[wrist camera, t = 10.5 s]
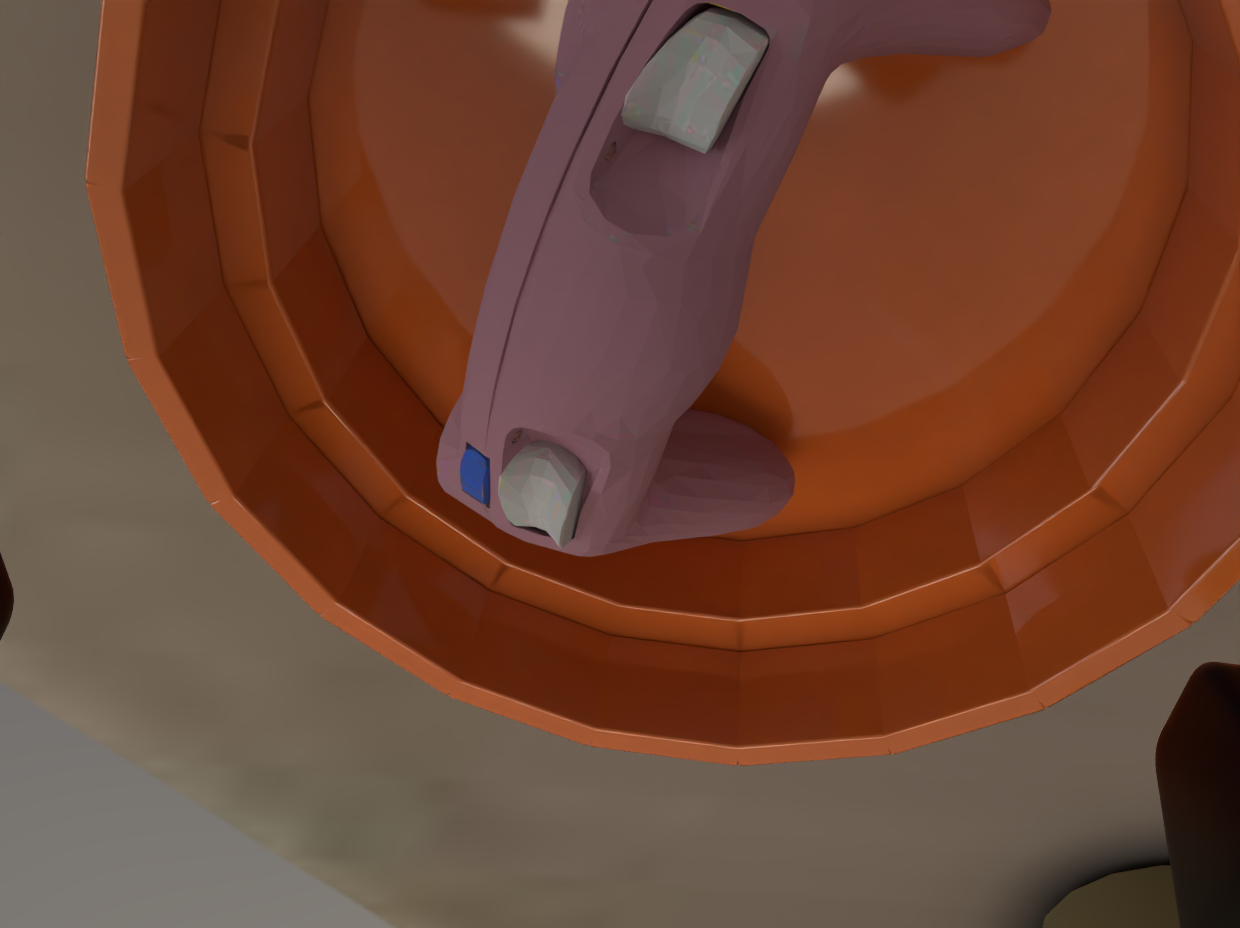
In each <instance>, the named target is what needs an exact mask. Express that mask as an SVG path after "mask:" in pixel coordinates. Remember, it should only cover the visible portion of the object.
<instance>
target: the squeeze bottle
mask: <svg viewBox="0 0 1240 928" xmlns="http://www.w3.org/2000/svg"><path fill="white" fill-rule="evenodd" d="M1042 928H1180V925H1179V919H1178V912H1177V905H1176V899H1175V892H1174V886H1173V879H1172V872H1171V866H1168V865H1161V866H1155V867H1149V868H1143V869H1137V870H1131V871H1125V872H1119V873H1113V874H1110V875H1108V876H1106V877H1103V878H1101V879H1099V880H1097V881H1094V882H1092V883H1090V884H1087V885H1085V886H1083V887H1081V888H1078V889H1076V890H1074V891H1072V892H1070V893H1069V894H1068V895H1067V896H1066V897H1065V898H1064V899H1063V900H1062V901H1061V902H1060V903H1058V904H1057V905H1056V906H1055V907H1054V908H1053V909H1052V910H1051V911H1050V912H1049V913H1048V914H1047V915H1046V916H1045V919H1044V923H1043V927H1042Z"/></svg>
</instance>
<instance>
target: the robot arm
mask: <svg viewBox="0 0 1240 928" xmlns="http://www.w3.org/2000/svg"><path fill="white" fill-rule="evenodd" d="M13 604H14V595H13V588H12V584H11V581H10V579H9V576H8V573H7V570H6V567H5V564H4V561H3V559H2V556H1V553H0V640H1V638H2V636H3V634H4V632H5V630H6V628H7V626H8V623H9V621H10V618H11V615H12V611H13ZM1156 773H1157V780H1158V787H1159V793H1160V800H1161V806H1162V813H1163V820H1164V826H1165V833H1166V839H1167V846H1168V853H1169V859H1170V866H1171V872H1172V879H1173V886H1174V892H1175V899H1176V905H1177V912H1178V919H1179V925H1180V928H1240V665H1236V664H1228V663H1220V662H1209V663H1204V664H1202V665H1201V666H1199V667H1198V668H1197V669H1196V670H1195V671H1194V672H1193V674H1192V675H1191V677H1190V679H1189V681H1188V683H1187V684H1186V686H1185V688H1184V690H1183V692H1182V694H1181V696H1180V698H1179V700H1178V701H1177V703H1176V705H1175V707H1174V709H1173V711H1172V713H1171V715H1170V717H1169V718H1168V720H1167V722H1166V724H1165V726H1164V728H1163V730H1162V732H1161V734H1160V737H1159V739H1158V743H1157V748H1156Z"/></svg>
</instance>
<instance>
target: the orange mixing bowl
mask: <svg viewBox="0 0 1240 928" xmlns="http://www.w3.org/2000/svg"><path fill="white" fill-rule="evenodd" d="M568 1H569V0H102V4H101V14H100V25H99V35H98V45H97V55H96V66H95V76H94V86H93V96H92V107H91V117H90V127H89V138H88V148H87V158H86V168H85V180H87V181H86V189H87V194H88V198H89V202H90V207H91V211H92V215H93V220H94V224H95V228H96V233H97V237H98V241H99V245H100V250H101V254H102V258H103V263H104V267H105V271H106V276H107V280H108V284H109V289H110V293H111V297H112V302H113V306H114V310H115V314H116V319H117V323H118V327H119V332H120V336H121V340H122V345H123V349H124V353H125V356H126V357H127V362H128V364H129V366H130V368H131V369H132V371H133V373H134V375H135V376H136V378H137V380H138V382H139V383H140V385H141V387H142V389H143V390H144V392H145V394H146V396H147V397H148V399H149V401H150V403H151V404H152V406H153V408H154V410H155V411H156V413H157V415H158V417H159V418H160V420H161V422H162V424H163V425H164V427H165V429H166V431H167V432H168V434H169V436H170V438H171V439H172V441H173V443H174V445H175V446H176V448H177V450H178V452H179V453H180V455H181V457H182V459H183V460H184V462H185V464H186V466H187V467H188V469H189V471H190V473H191V474H192V476H193V478H194V480H195V481H196V483H197V485H198V487H199V488H200V490H201V492H202V494H203V495H204V497H205V499H206V501H207V502H209V503H210V505H211V506H212V507H213V509H214V510H215V511H216V512H217V513H218V514H219V515H220V516H221V517H222V518H223V519H224V520H225V521H226V522H227V523H228V524H229V525H230V526H231V527H232V528H233V529H234V530H235V531H236V532H237V533H238V534H239V535H240V536H241V537H242V538H243V539H244V540H245V541H246V542H247V543H248V544H249V545H250V546H251V547H252V548H253V549H254V550H255V551H256V552H257V553H258V554H259V555H260V556H261V557H262V558H263V559H264V560H265V561H266V562H267V563H268V564H269V565H270V566H271V567H272V568H273V569H274V570H275V571H276V572H277V573H278V574H279V576H280V577H281V578H282V579H283V580H284V581H285V582H286V583H287V584H288V585H289V586H290V587H291V588H292V589H293V590H294V591H295V592H296V593H297V594H298V595H299V596H300V597H301V598H302V599H303V600H304V601H305V602H306V603H307V604H308V605H309V606H310V607H311V608H312V609H313V610H314V611H315V612H316V613H317V614H321V617H322V618H323V619H325V620H326V621H328V622H330V623H331V624H333V625H334V626H336V627H338V628H339V629H341V630H342V631H344V632H346V633H347V634H349V635H350V636H352V637H354V638H355V639H357V640H358V641H360V642H362V643H363V644H365V645H366V646H368V647H370V648H371V649H373V650H374V651H376V652H378V653H379V654H381V655H382V656H384V657H386V658H387V659H389V660H390V661H392V662H394V663H395V664H397V665H398V666H400V667H402V668H403V669H405V670H407V671H408V672H410V673H411V674H413V675H415V676H416V677H418V678H419V679H421V680H423V681H424V682H426V683H427V684H429V685H431V686H432V687H434V688H435V689H437V690H439V691H440V692H442V693H443V694H445V695H449V696H450V697H451V698H454V699H456V700H459V701H462V702H465V703H468V704H470V705H473V706H476V707H479V708H482V709H485V710H487V711H490V712H493V713H496V714H499V715H502V716H504V717H507V718H510V719H513V720H516V721H518V722H521V723H524V724H527V725H530V726H533V727H535V728H538V729H541V730H544V731H547V732H549V733H552V734H555V735H558V736H561V737H564V738H566V739H569V740H572V741H575V742H578V743H580V744H583V745H586V746H588V745H591V746H592V747H598V748H605V749H613V750H620V751H628V752H635V753H643V754H650V755H658V756H665V757H673V758H680V759H688V760H696V761H703V762H711V763H718V764H726V765H733V766H736V765H738V764H739V765H740V766H748V765H761V764H774V763H788V762H801V761H814V760H827V759H841V758H854V757H867V756H880V755H889V754H891V753H892V754H897V753H900V752H904V751H907V750H910V749H914V748H917V747H921V746H924V745H927V744H931V743H934V742H937V741H941V740H944V739H947V738H951V737H954V736H957V735H961V734H964V733H968V732H971V731H974V730H978V729H981V728H984V727H988V726H991V725H994V724H998V723H1001V722H1005V721H1008V720H1011V719H1015V718H1018V717H1021V716H1025V715H1028V714H1031V713H1035V712H1038V711H1042V710H1044V709H1045V707H1050V706H1052V705H1054V704H1055V703H1057V702H1059V701H1061V700H1062V699H1064V698H1066V697H1068V696H1069V695H1071V694H1073V693H1075V692H1076V691H1078V690H1080V689H1082V688H1083V687H1085V686H1087V685H1089V684H1090V683H1092V682H1094V681H1096V680H1097V679H1099V678H1101V677H1103V676H1104V675H1106V674H1108V673H1110V672H1111V671H1113V670H1115V669H1117V668H1118V667H1120V666H1122V665H1124V664H1125V663H1127V662H1129V661H1131V660H1132V659H1134V658H1136V657H1138V656H1139V655H1141V654H1143V653H1145V652H1146V651H1148V650H1150V649H1152V648H1153V647H1155V646H1157V645H1159V644H1160V643H1162V642H1164V641H1166V640H1167V639H1169V638H1171V637H1173V636H1174V635H1176V634H1178V633H1180V632H1181V631H1183V630H1185V629H1187V628H1188V627H1190V626H1191V625H1192V623H1195V622H1197V621H1198V620H1199V619H1200V618H1201V617H1202V616H1203V615H1204V614H1205V613H1206V612H1207V611H1208V610H1209V609H1210V608H1211V607H1212V606H1213V605H1214V604H1215V603H1216V602H1217V601H1218V600H1219V599H1221V598H1222V597H1223V596H1224V595H1225V594H1226V593H1227V592H1228V591H1229V590H1230V589H1231V588H1232V587H1233V586H1234V585H1235V584H1236V583H1237V582H1238V581H1239V580H1240V0H1049V2H1050V7H1051V14H1050V17H1049V20H1048V23H1047V25H1046V27H1045V30H1044V32H1043V33H1042V34H1041V35H1040V36H1038V37H1037V38H1036V39H1034V40H1033V41H1031V42H1028V43H1026V44H1024V45H1021V46H1019V47H1016V48H1013V49H1010V50H1007V51H1004V52H1001V53H998V54H995V55H992V56H988V57H964V56H943V55H922V54H896V55H886V56H875V57H865V58H861V59H858V60H854V61H851V62H847V63H844V64H841V65H840V66H839V67H838V68H837V69H835V70H834V71H833V72H832V73H831V74H830V76H829V77H828V79H827V81H826V82H825V84H824V87H823V89H822V91H821V94H820V96H819V98H818V101H817V103H816V105H815V108H814V110H813V112H812V114H811V117H810V119H809V121H808V124H807V126H806V128H805V131H804V133H803V135H802V138H801V140H800V142H799V145H798V147H797V149H796V151H795V154H794V156H793V158H792V160H791V163H790V165H789V167H788V169H787V171H786V173H785V175H784V177H783V179H782V181H781V183H780V185H779V188H778V190H777V192H776V194H775V196H774V198H773V200H772V202H771V204H770V206H769V208H768V210H767V212H766V215H765V217H764V219H763V221H762V223H761V225H760V227H759V229H758V231H757V233H756V235H755V238H754V244H753V250H752V256H751V262H750V267H749V273H748V279H747V284H746V289H745V294H744V300H743V305H742V310H741V315H740V320H739V325H738V330H737V332H736V334H735V337H734V339H733V341H732V343H731V345H730V347H729V349H728V351H727V354H726V356H725V358H724V360H723V362H722V364H721V366H720V368H719V370H718V372H717V373H716V374H715V376H714V377H713V378H712V380H711V381H710V382H709V384H708V385H707V386H706V388H705V389H704V390H703V392H702V393H701V394H700V395H699V397H698V398H697V399H696V400H695V402H694V403H693V404H692V405H691V406H690V407H689V409H694V410H699V411H704V412H709V413H714V414H718V415H721V416H724V417H726V418H729V419H731V420H734V421H737V422H739V423H742V424H744V425H747V426H749V427H750V428H752V429H753V430H755V431H756V432H758V433H759V434H761V435H762V436H763V437H765V438H766V439H770V440H771V441H772V442H773V443H774V444H775V445H776V446H777V447H778V448H779V449H780V450H781V452H782V453H783V454H784V455H785V457H786V458H787V460H788V461H789V463H790V465H791V466H792V468H793V470H794V474H795V486H794V493H793V496H792V497H791V499H790V500H789V502H788V503H787V504H786V506H785V507H784V508H783V509H782V510H781V511H780V512H779V513H778V514H777V515H775V516H773V517H772V518H770V519H769V520H767V521H766V522H764V523H762V524H761V525H759V526H756V527H754V528H751V529H746V530H741V531H736V532H731V533H726V534H721V535H714V536H705V537H696V538H687V539H678V540H668V541H659V542H652V543H648V544H644V545H640V546H636V547H633V548H629V549H625V550H621V551H617V552H613V553H610V554H604V555H598V556H592V557H586V556H576V555H572V554H568V553H565V552H561V551H557V550H554V549H550V548H547V547H543V546H540V545H536V544H532V543H529V542H525V541H523V540H521V539H519V538H517V537H515V536H513V535H510V534H508V533H506V532H505V531H503V530H501V529H499V528H497V527H496V526H495V525H494V523H492V522H491V521H489V520H488V519H486V518H485V517H483V516H481V515H480V514H478V513H477V512H475V511H474V510H472V509H471V508H469V507H468V506H466V505H465V504H463V503H462V502H460V501H459V500H457V499H456V498H454V497H453V496H451V495H450V494H448V493H446V492H445V491H444V489H443V488H442V486H441V485H440V483H439V482H438V476H437V465H436V459H437V454H438V448H439V442H440V437H441V435H442V432H443V430H444V428H445V425H446V423H447V420H448V418H449V415H450V413H451V411H452V410H453V408H454V406H455V404H456V403H457V401H458V399H459V397H460V396H461V394H462V392H463V388H464V382H465V376H466V370H467V364H468V358H469V353H470V349H471V344H472V340H473V336H474V332H475V327H476V323H477V319H478V315H479V311H480V306H481V302H482V298H483V294H484V289H485V285H486V282H487V279H488V276H489V273H490V270H491V267H492V264H493V260H494V257H495V254H496V251H497V248H498V245H499V242H500V239H501V235H502V232H503V229H504V226H505V223H506V220H507V217H508V214H509V211H510V207H511V204H512V201H513V198H514V195H515V192H516V189H517V187H518V185H519V182H520V180H521V177H522V175H523V173H524V170H525V168H526V165H527V163H528V161H529V158H530V156H531V153H532V151H533V149H534V146H535V144H536V141H537V139H538V136H539V134H540V132H541V129H542V127H543V124H544V122H545V120H546V117H547V115H548V112H549V110H550V108H551V105H552V103H553V100H554V98H555V96H556V91H555V74H554V71H555V65H556V59H557V52H558V46H559V40H560V34H561V29H562V24H563V20H564V15H565V10H566V6H567V4H568Z"/></svg>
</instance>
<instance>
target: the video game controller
mask: <svg viewBox="0 0 1240 928" xmlns="http://www.w3.org/2000/svg"><path fill="white" fill-rule="evenodd" d="M1050 14H1051V7H1050V2H1049V0H569V1H568V4H567V6H566V10H565V15H564V20H563V24H562V29H561V34H560V40H559V46H558V52H557V59H556V65H555V71H554V74H555V91H556V96H555V98H554V100H553V103H552V105H551V108H550V110H549V112H548V115H547V117H546V120H545V122H544V124H543V127H542V129H541V132H540V134H539V136H538V139H537V141H536V144H535V146H534V149H533V151H532V153H531V156H530V158H529V161H528V163H527V165H526V168H525V170H524V173H523V175H522V177H521V180H520V182H519V185H518V187H517V189H516V192H515V195H514V198H513V201H512V204H511V207H510V211H509V214H508V217H507V220H506V223H505V226H504V229H503V232H502V235H501V239H500V242H499V245H498V248H497V251H496V254H495V257H494V260H493V264H492V267H491V270H490V273H489V276H488V279H487V282H486V285H485V289H484V294H483V298H482V302H481V306H480V311H479V315H478V319H477V323H476V327H475V332H474V336H473V340H472V344H471V349H470V353H469V358H468V364H467V370H466V376H465V382H464V388H463V392H462V394H461V396H460V397H459V399H458V401H457V403H456V404H455V406H454V408H453V410H452V411H451V413H450V415H449V418H448V420H447V423H446V425H445V428H444V430H443V432H442V435H441V437H440V442H439V448H438V454H437V459H436V465H437V476H438V482H439V483H440V485H441V486H442V488H443V489H444V491H445V492H446V493H448V494H450V495H451V496H453V497H454V498H456V499H457V500H459V501H460V502H462V503H463V504H465V505H466V506H468V507H469V508H471V509H472V510H474V511H475V512H477V513H478V514H480V515H481V516H483V517H485V518H486V519H488V520H489V521H491V522H492V523H494V525H495V526H496V527H497V528H499V529H501V530H503V531H505V532H506V533H508V534H510V535H513V536H515V537H517V538H519V539H521V540H523V541H525V542H529V543H532V544H536V545H540V546H543V547H547V548H550V549H554V550H557V551H561V552H565V553H568V554H572V555H576V556H586V557H592V556H598V555H604V554H610V553H613V552H617V551H621V550H625V549H629V548H633V547H636V546H640V545H644V544H648V543H652V542H659V541H668V540H678V539H687V538H696V537H705V536H714V535H721V534H726V533H731V532H736V531H741V530H746V529H751V528H754V527H756V526H759V525H761V524H762V523H764V522H766V521H767V520H769V519H770V518H772V517H773V516H775V515H777V514H778V513H779V512H780V511H781V510H782V509H783V508H784V507H785V506H786V504H787V503H788V502H789V500H790V499H791V497H792V496H793V493H794V486H795V474H794V470H793V468H792V466H791V465H790V463H789V461H788V460H787V458H786V457H785V455H784V454H783V453H782V452H781V450H780V449H779V448H778V447H777V446H776V445H775V444H774V443H773V442H772V441H771V440H770V439H766V438H765V437H763V436H762V435H761V434H759V433H758V432H756V431H755V430H753V429H752V428H750V427H749V426H747V425H744V424H742V423H739V422H737V421H734V420H731V419H729V418H726V417H724V416H721V415H718V414H714V413H709V412H704V411H699V410H694V409H689V407H690V406H691V405H692V404H693V403H694V402H695V400H696V399H697V398H698V397H699V395H700V394H701V393H702V392H703V390H704V389H705V388H706V386H707V385H708V384H709V382H710V381H711V380H712V378H713V377H714V376H715V374H716V373H717V372H718V370H719V368H720V366H721V364H722V362H723V360H724V358H725V356H726V354H727V351H728V349H729V347H730V345H731V343H732V341H733V339H734V337H735V334H736V332H737V330H738V325H739V320H740V315H741V310H742V305H743V300H744V294H745V289H746V284H747V279H748V273H749V267H750V262H751V256H752V250H753V244H754V238H755V235H756V233H757V231H758V229H759V227H760V225H761V223H762V221H763V219H764V217H765V215H766V212H767V210H768V208H769V206H770V204H771V202H772V200H773V198H774V196H775V194H776V192H777V190H778V188H779V185H780V183H781V181H782V179H783V177H784V175H785V173H786V171H787V169H788V167H789V165H790V163H791V160H792V158H793V156H794V154H795V151H796V149H797V147H798V145H799V142H800V140H801V138H802V135H803V133H804V131H805V128H806V126H807V124H808V121H809V119H810V117H811V114H812V112H813V110H814V108H815V105H816V103H817V101H818V98H819V96H820V94H821V91H822V89H823V87H824V84H825V82H826V81H827V79H828V77H829V76H830V74H831V73H832V72H833V71H834V70H835V69H837V68H838V67H839V66H840V65H841V64H844V63H847V62H851V61H854V60H858V59H861V58H865V57H875V56H886V55H896V54H922V55H943V56H964V57H988V56H992V55H995V54H998V53H1001V52H1004V51H1007V50H1010V49H1013V48H1016V47H1019V46H1021V45H1024V44H1026V43H1028V42H1031V41H1033V40H1034V39H1036V38H1037V37H1038V36H1040V35H1041V34H1042V33H1043V32H1044V30H1045V27H1046V25H1047V23H1048V20H1049V17H1050Z"/></svg>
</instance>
